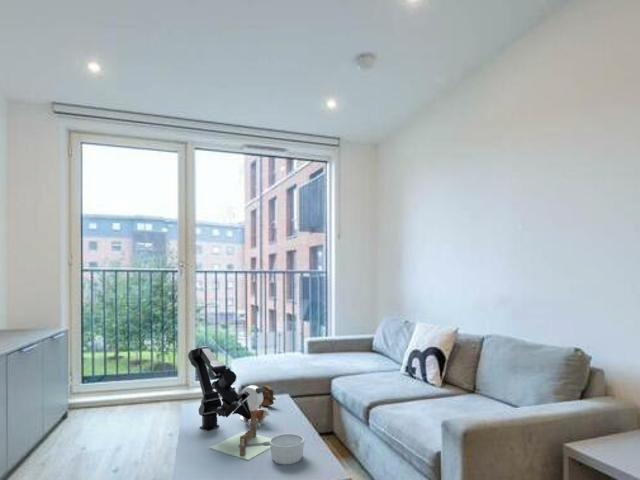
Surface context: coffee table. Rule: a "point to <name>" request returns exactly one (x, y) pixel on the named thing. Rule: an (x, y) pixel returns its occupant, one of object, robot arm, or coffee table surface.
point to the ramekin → (287, 448)
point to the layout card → (251, 448)
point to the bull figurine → (259, 416)
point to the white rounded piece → (253, 397)
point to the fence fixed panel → (242, 445)
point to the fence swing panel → (252, 431)
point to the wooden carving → (268, 396)
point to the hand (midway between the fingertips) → (250, 418)
